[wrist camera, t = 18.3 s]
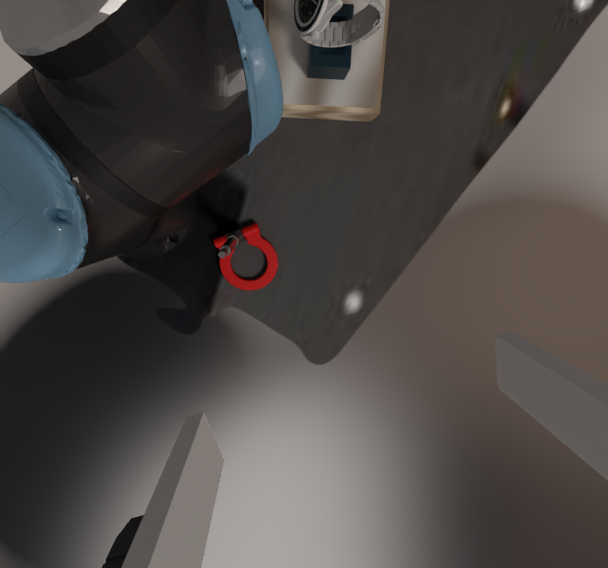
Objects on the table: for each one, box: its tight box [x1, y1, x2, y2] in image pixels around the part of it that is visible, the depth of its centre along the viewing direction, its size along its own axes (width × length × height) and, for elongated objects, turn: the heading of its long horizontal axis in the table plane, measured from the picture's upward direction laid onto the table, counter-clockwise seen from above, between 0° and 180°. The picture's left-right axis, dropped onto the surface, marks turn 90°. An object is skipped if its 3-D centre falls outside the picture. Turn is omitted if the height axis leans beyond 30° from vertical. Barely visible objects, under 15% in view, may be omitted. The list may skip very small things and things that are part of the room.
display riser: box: [264, 0, 390, 122], centre depth 34 cm, size 14×12×4 cm
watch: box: [294, 0, 385, 80], centre depth 27 cm, size 6×8×11 cm
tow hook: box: [213, 223, 278, 290], centre depth 36 cm, size 8×13×9 cm
